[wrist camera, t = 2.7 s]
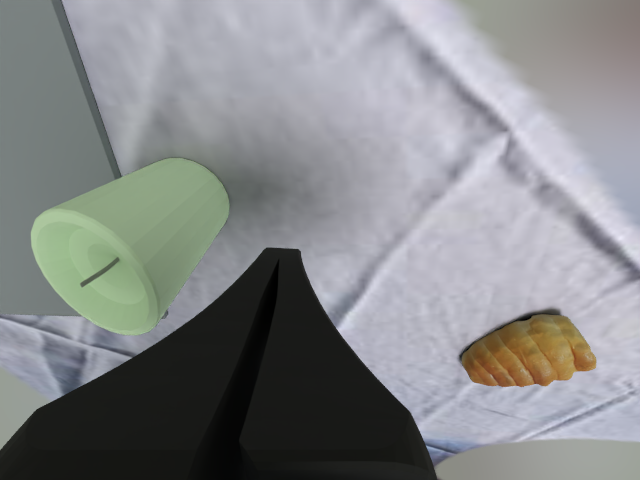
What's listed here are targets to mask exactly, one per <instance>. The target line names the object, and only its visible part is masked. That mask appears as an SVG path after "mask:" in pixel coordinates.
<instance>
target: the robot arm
mask: <svg viewBox="0 0 640 480" xmlns="http://www.w3.org/2000/svg"><path fill="white" fill-rule="evenodd" d="M0 480H437V476H436V473H435V470H434V466H433V463H432V460H431V458H430V455H429V452H428V450H427V448H426V445H425V443H424V441H423V438H422V436H421V434H420V431H419V429H418V427H417V425H416V423H415V421H414V419H413V417H412V415H411V413H410V411H409V410H408V409H407V408H406V407H404V406H403V405H402V404H401V403H400V402H399V401H398V400H397V399H396V398H395V397H394V396H393V395H392V394H391V393H390V392H389V390H388V389H387V388H386V387H385V386H384V385H383V384H382V383H381V382H380V381H379V380H378V379H377V378H376V377H375V376H374V375H373V373H372V372H371V371H370V370H369V369H368V368H367V367H366V366H365V364H364V363H363V362H362V361H361V360H360V359H359V357H358V356H357V355H356V354H355V352H354V351H353V350H352V349H351V347H350V346H349V345H348V344H347V342H346V341H345V340H344V339H343V337H342V336H341V335H340V333H339V332H338V330H337V329H336V327H335V326H334V325H333V323H332V322H331V320H330V319H329V317H328V315H327V314H326V312H325V311H324V309H323V307H322V305H321V304H320V302H319V300H318V298H317V296H316V294H315V292H314V290H313V288H312V286H311V284H310V281H309V279H308V277H307V274H306V272H305V269H304V266H303V262H302V258H301V251H300V250H299V249H286V248H265V249H264V250H263V251H262V253H261V254H260V255H259V256H258V258H257V259H256V260H255V261H254V262H253V263H252V265H251V266H250V267H249V268H248V269H247V270H246V271H245V272H244V273H243V274H242V275H241V276H240V277H239V278H238V279H237V280H236V281H235V282H234V283H233V284H232V285H231V286H230V287H229V288H228V289H227V290H226V291H225V292H224V293H223V294H222V295H221V296H220V297H218V298H217V299H216V300H215V301H214V302H213V303H211V304H210V305H209V306H208V307H207V308H205V309H204V310H203V311H202V312H200V313H199V314H198V315H197V316H195V317H194V318H193V319H191V320H190V321H188V322H187V323H186V324H184V325H183V326H181V327H180V328H178V329H177V330H176V331H174V332H173V333H171V334H170V335H168V336H167V337H165V338H164V339H162V340H161V341H159V342H158V343H156V344H155V345H153V346H151V347H150V348H148V349H146V350H145V351H143V352H142V353H140V354H138V355H137V356H135V357H133V358H132V359H130V360H128V361H126V362H125V363H123V364H121V365H120V366H118V367H116V368H114V369H112V370H111V371H109V372H107V373H105V374H104V375H102V376H100V377H98V378H96V379H94V380H92V381H90V382H88V383H87V384H85V385H83V386H81V387H79V388H77V389H75V390H73V391H71V392H69V393H68V394H66V395H64V396H62V397H60V398H58V399H56V400H54V401H52V402H50V403H48V404H46V405H44V406H42V407H40V408H39V409H37V410H36V411H35V412H34V413H33V414H32V415H31V416H30V417H29V418H28V419H27V421H26V422H25V423H24V424H23V425H22V426H21V427H20V428H19V429H18V431H17V432H16V433H15V434H14V435H13V436H12V437H11V439H10V440H9V441H8V442H7V443H6V444H5V445H4V446H3V448H2V449H1V450H0Z"/></svg>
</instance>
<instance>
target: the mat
mask: <svg viewBox="0 0 640 480" xmlns="http://www.w3.org/2000/svg"><path fill="white" fill-rule="evenodd" d="M119 178H121V175H120V172H119V169H118V166H117V164H116V161H115V158H114V155H113V152H112V149H111V146H110V143H109V140H108V137H107V134H106V131H105V128H104V126H103V123H102V120H101V117H100V114H99V111H98V108H97V105H96V102H95V99H94V96H93V93H92V90H91V88H90V85H89V82H88V79H87V76H86V73H85V70H84V67H83V64H82V61H81V58H80V55H79V53H78V50H77V47H76V44H75V41H74V38H73V35H72V32H71V29H70V26H69V23H68V20H67V17H66V15H65V12H64V9H63V6H62V3H61V0H0V314H17V315H51V316H82V315H80V314H79V313H78V312H77V311H76V310H74V309H73V308H72V307H71V306H69V305H68V304H67V303H66V302H65V301H64V300H63V299H62V297H61V296H60V295H59V294H58V293H57V292H56V291H55V290H54V289H53V287H52V286H51V285H50V283H49V282H48V281H47V279H46V278H45V276H44V275H43V273H42V271H41V269H40V267H39V265H38V264H37V262H36V259H35V256H34V253H33V250H32V246H31V230H32V227H33V224H34V221H35V219H36V218H37V217H38V216H39V215H40V214H42V213H43V212H44V211H46V210H48V209H50V208H53V207H55V206H57V205H60V204H62V203H64V202H66V201H69V200H71V199H73V198H75V197H78V196H80V195H82V194H85V193H87V192H89V191H91V190H94V189H96V188H98V187H100V186H103V185H105V184H107V183H110V182H112V181H114V180H116V179H119ZM167 315H168V313H167V310H166V312H165V313H164V315H163V316H162V318H161V319H165V318H166V316H167Z"/></svg>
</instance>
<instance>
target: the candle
mask: <svg viewBox="0 0 640 480" xmlns="http://www.w3.org/2000/svg"><path fill="white" fill-rule="evenodd" d="M229 207H230V204H229V199H228V195H227V193H226V191H225V189H224V186H223V185H222V183H221V182H220V181H219V180H218V178H217V177H216V176H215V175H214V174H213V173H212V172H210V171H209V170H208V169H207V168H205V167H204V166H202V165H200V164H198V163H196V162H194V161H191V160H187V159H183V158H167V159H164V160H160V161H157V162H155V163H153V164H151V165H148V166H146V167H144V168H141V169H139V170H137V171H135V172H132V173H130V174H128V175H126V176H123V177H121V178H119V179H116V180H114V181H112V182H110V183H107V184H105V185H103V186H100V187H98V188H96V189H94V190H91V191H89V192H87V193H85V194H82V195H80V196H78V197H75V198H73V199H71V200H69V201H66V202H64V203H62V204H60V205H57V206H55V207H53V208H50V209H48V210H46V211H44V212H43V213H42V214H40V215H39V216H38V217H37V218H36V219H35V221H34V224H33V227H32V230H31V246H32V250H33V253H34V256H35V259H36V262H37V264H38V265H39V267H40V269H41V271H42V273H43V275H44V276H45V278H46V279H47V281H48V282H49V283H50V285H51V286H52V287H53V289H54V290H55V291H56V292H57V293H58V294H59V295H60V296H61V297H62V299H63V300H64V301H65V302H66V303H67V304H68V305H69V306H71V307H72V308H73V309H74V310H76V311H77V312H78V313H79V314H80V315H82V316H83V317H85V318H86V319H88V320H89V321H91V322H93V323H94V324H96V325H98V326H100V327H102V328H104V329H106V330H109V331H111V332H115V333H118V334H122V335H140V334H143V333H147V332H150V331H151V330H152V329H153V328H154V327H155V326H156V325H157V324H158V322H159V321H160V319H161V318H162V316H163V315H164V313H165V312H166V310H167V309H168V307H169V306H170V304H171V303H172V301H173V300H174V299H175V297H176V296H177V294H178V293H179V291H180V290H181V288H182V287H183V285H184V284H185V282H186V281H187V279H188V278H189V276H190V275H191V273H192V272H193V270H194V269H195V267H196V266H197V264H198V263H199V261H200V260H201V258H202V257H203V255H204V254H205V252H206V251H207V249H208V248H209V246H210V245H211V243H212V242H213V240H214V239H215V237H216V236H217V234H218V233H219V231H220V230H221V228H222V227H223V226H224V224H225V222H226V220H227V218H228V215H229Z"/></svg>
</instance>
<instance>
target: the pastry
mask: <svg viewBox="0 0 640 480" xmlns="http://www.w3.org/2000/svg"><path fill="white" fill-rule="evenodd" d="M461 361H462V364H463V367H464V368H465V370H466V371H467V373H468V375H469V377H470V379H471V380H472V381H473V382H475V383H480V384H484V385H488V386H496V385H499V386H502V387H509V386H520V387H524V386H528V385H533V384H539V385H541V386H548V385H549V384H550V383H551V382H552V381H553V380H569V379H570V378H571V377H572V375H573V373H574V372H576V371H589V370H593V369H595V368H596V357H595V356H594V354H593V353H592V352H591V350H590V346H589V345H588V343H587V342H586V340H585V339H584V338H583V336H582V335H581V333H580V332H579V330H578V329H577V328H576V327H575V326H574V324H573V323H572V322H571V320H570V319H569V318H568V317H566V316H561V315H548V314H539V315H532V318H531V319H529V320H526V321H516V322H513V323H511V324H509V325H506V326H504V327H503V328H502V329H500V330H496V331H494V332H493V333H491V334H489V335H487V336H485V337H484V338H482V339H480V340H478V341H477V342H475V343H474V344H473V345H471V347H470V349H469V350H467V351H466V352H465V353H463V356H462V359H461Z"/></svg>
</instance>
